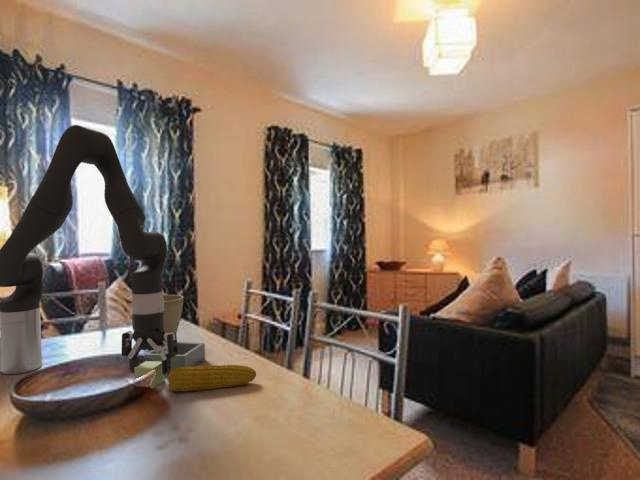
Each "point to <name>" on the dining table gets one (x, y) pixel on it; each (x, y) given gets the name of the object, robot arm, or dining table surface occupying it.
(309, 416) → the dining table surface
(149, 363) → the green block
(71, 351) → the dining table surface
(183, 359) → the bin
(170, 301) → the plant pot
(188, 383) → the food
